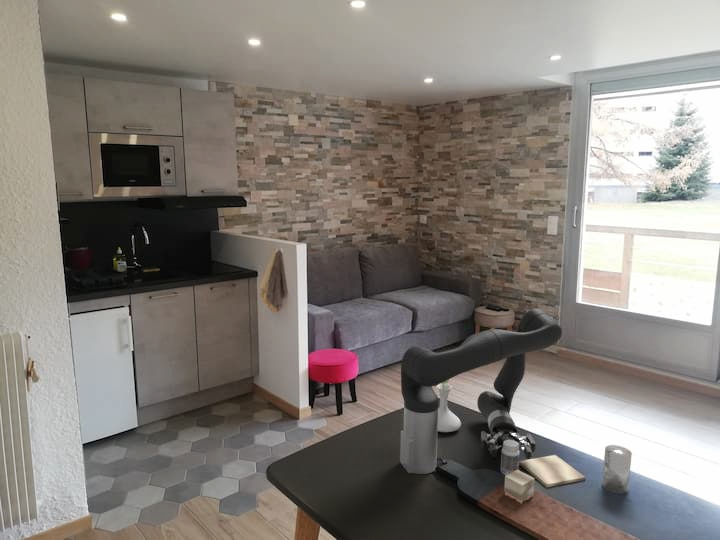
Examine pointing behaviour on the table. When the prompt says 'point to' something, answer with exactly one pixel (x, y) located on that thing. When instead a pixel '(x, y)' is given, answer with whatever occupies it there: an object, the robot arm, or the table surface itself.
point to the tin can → (616, 469)
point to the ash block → (519, 484)
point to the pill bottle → (510, 457)
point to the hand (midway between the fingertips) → (511, 454)
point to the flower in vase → (446, 410)
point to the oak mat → (551, 470)
